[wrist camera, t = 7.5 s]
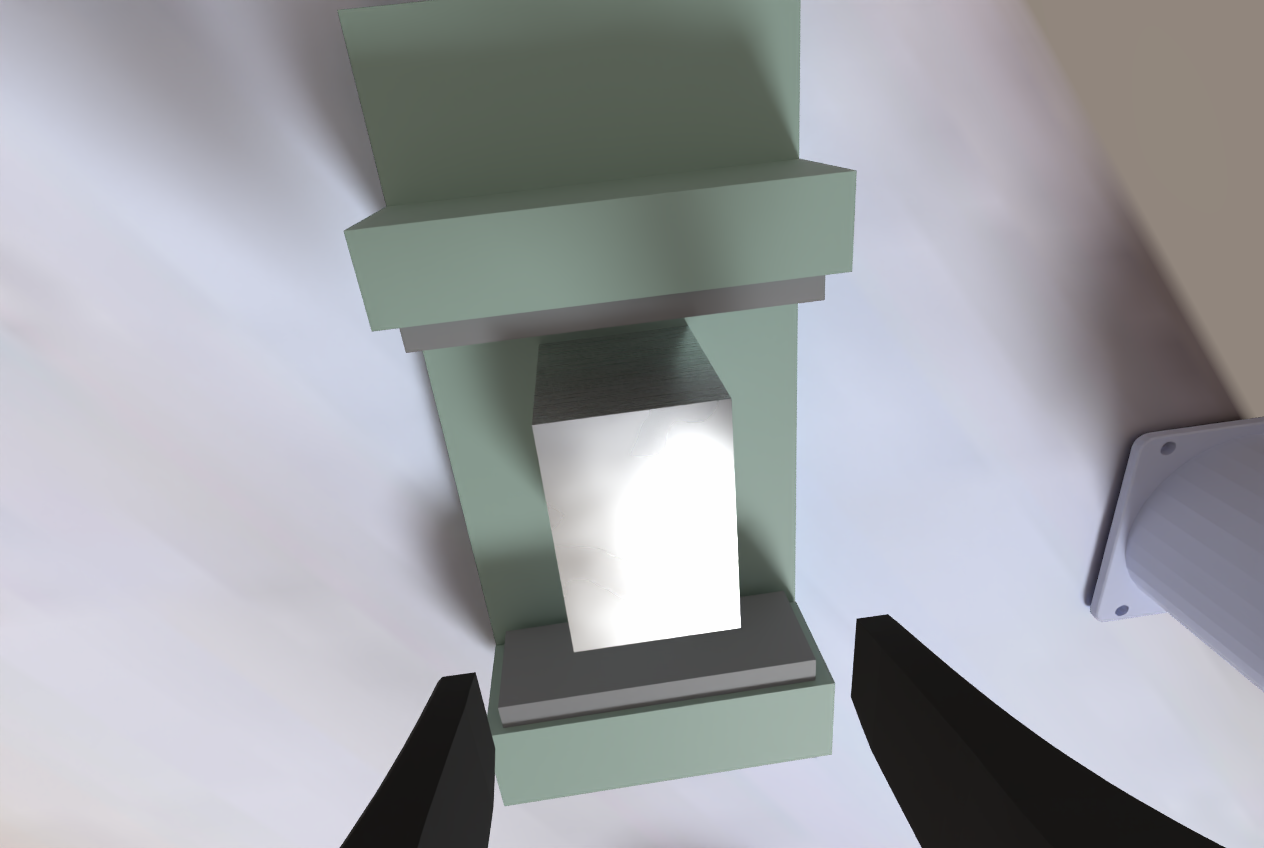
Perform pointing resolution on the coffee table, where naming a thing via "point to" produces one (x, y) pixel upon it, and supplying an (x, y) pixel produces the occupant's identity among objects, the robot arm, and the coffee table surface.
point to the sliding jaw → (657, 704)
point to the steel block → (638, 486)
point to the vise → (593, 235)
